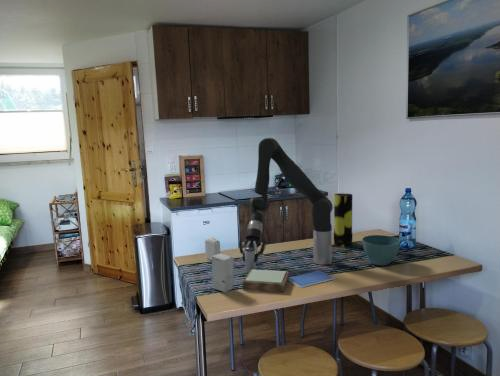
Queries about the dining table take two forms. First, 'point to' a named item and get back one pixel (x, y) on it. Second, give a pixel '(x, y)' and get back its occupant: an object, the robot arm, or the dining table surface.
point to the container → (343, 219)
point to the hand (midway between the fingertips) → (249, 261)
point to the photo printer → (211, 247)
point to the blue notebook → (310, 279)
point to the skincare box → (222, 272)
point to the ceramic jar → (249, 258)
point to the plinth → (266, 280)
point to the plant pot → (380, 248)
